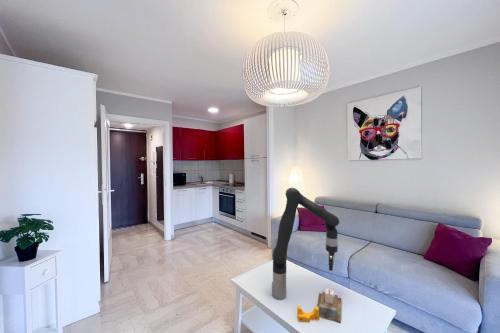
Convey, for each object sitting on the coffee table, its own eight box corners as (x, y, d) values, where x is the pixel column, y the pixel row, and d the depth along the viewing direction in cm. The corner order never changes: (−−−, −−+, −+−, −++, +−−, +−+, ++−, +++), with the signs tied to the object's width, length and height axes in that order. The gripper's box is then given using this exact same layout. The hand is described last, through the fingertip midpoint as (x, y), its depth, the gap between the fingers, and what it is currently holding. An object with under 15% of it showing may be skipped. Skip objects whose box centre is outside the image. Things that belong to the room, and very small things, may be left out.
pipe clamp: (298, 322, 123) (298, 311, 123) (297, 316, 127) (297, 305, 127) (319, 322, 122) (319, 311, 122) (317, 317, 126) (317, 306, 126)
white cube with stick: (325, 302, 137) (325, 289, 137) (325, 296, 143) (325, 284, 142) (333, 304, 135) (333, 291, 135) (333, 298, 141) (333, 286, 140)
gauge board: (315, 315, 127) (315, 305, 127) (319, 294, 147) (319, 285, 147) (340, 323, 122) (340, 312, 121) (341, 300, 142) (341, 290, 141)
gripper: (326, 239, 152) (326, 261, 153) (324, 246, 139) (324, 271, 140) (338, 241, 149) (337, 263, 149) (337, 248, 136) (336, 273, 136)
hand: (331, 267), depth 145 cm, fingers open, 8 cm apart
